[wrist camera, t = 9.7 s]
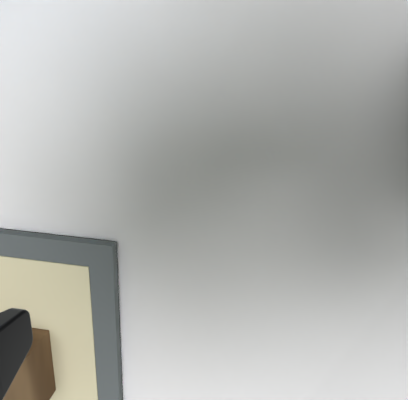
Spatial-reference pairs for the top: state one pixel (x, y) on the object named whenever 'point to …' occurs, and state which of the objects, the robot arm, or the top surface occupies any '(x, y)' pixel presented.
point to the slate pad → (68, 306)
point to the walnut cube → (35, 371)
